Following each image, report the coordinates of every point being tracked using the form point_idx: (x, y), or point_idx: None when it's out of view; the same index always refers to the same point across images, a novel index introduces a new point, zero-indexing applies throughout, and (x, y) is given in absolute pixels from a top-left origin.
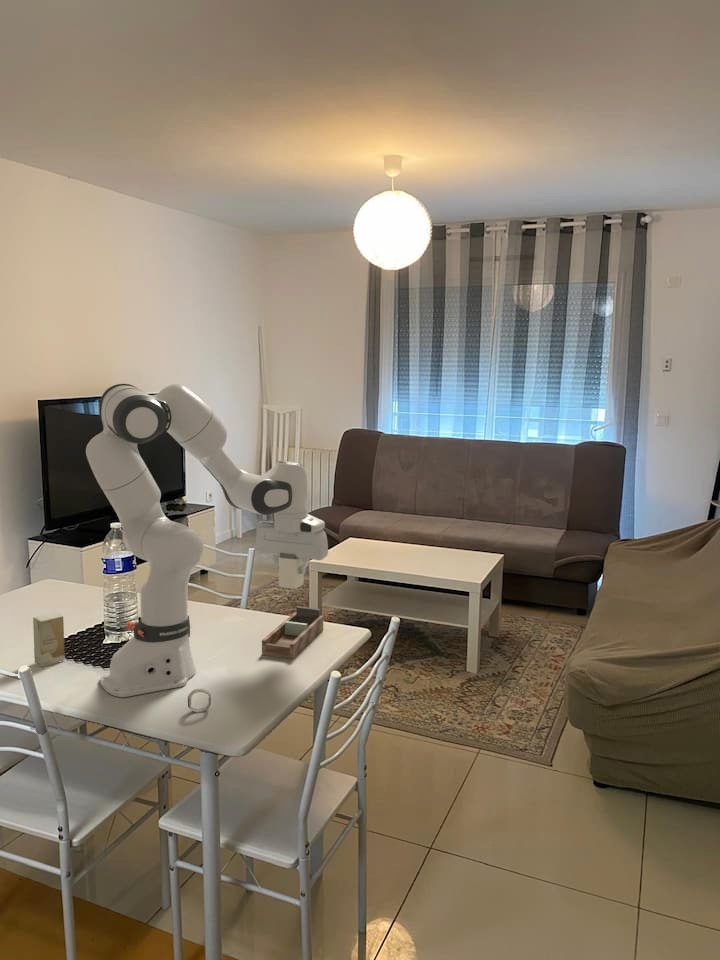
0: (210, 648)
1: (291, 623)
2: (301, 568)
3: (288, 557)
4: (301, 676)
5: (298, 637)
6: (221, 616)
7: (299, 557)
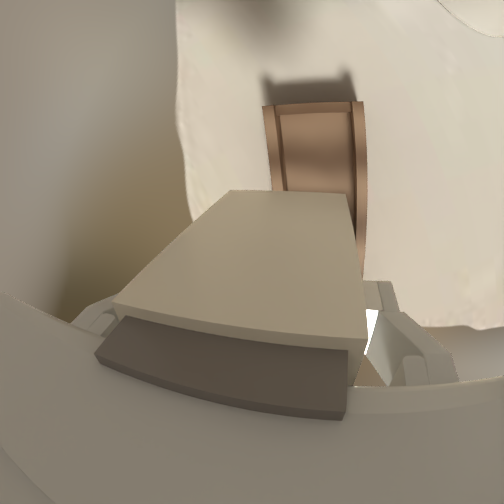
0: (479, 113)
1: None
2: None
3: (199, 343)
4: (207, 42)
5: (275, 159)
6: (500, 288)
7: (86, 331)
